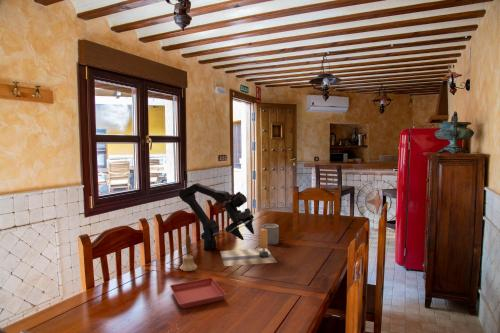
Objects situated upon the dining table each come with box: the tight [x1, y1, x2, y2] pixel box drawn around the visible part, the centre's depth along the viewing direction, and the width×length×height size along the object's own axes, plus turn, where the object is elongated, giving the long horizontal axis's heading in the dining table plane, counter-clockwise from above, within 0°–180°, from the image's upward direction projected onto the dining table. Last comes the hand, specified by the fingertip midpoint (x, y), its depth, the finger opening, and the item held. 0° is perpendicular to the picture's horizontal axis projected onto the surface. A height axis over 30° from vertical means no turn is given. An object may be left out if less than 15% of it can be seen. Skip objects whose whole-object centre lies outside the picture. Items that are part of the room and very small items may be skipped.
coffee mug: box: [261, 223, 280, 246], centre depth 210 cm, size 13×10×10 cm
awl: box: [259, 228, 268, 258], centre depth 180 cm, size 5×5×14 cm
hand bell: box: [179, 234, 198, 272], centre depth 167 cm, size 8×8×16 cm
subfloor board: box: [219, 247, 278, 267], centre depth 181 cm, size 26×23×1 cm
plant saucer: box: [169, 277, 227, 309], centre depth 137 cm, size 18×18×3 cm
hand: (248, 236), depth 185 cm, fingers open, 9 cm apart
